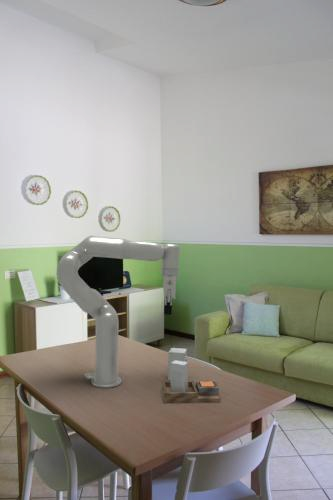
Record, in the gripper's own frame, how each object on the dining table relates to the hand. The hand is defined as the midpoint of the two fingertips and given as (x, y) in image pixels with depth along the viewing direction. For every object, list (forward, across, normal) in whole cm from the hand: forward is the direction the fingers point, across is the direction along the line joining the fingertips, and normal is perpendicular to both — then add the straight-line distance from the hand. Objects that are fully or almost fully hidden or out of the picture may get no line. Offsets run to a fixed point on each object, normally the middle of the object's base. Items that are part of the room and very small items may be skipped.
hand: (167, 314), depth 188 cm
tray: (+29, -17, -10) cm, 35 cm away
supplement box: (+29, +3, -6) cm, 30 cm away
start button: (+27, -17, -17) cm, 36 cm away
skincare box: (+28, -17, -5) cm, 33 cm away
